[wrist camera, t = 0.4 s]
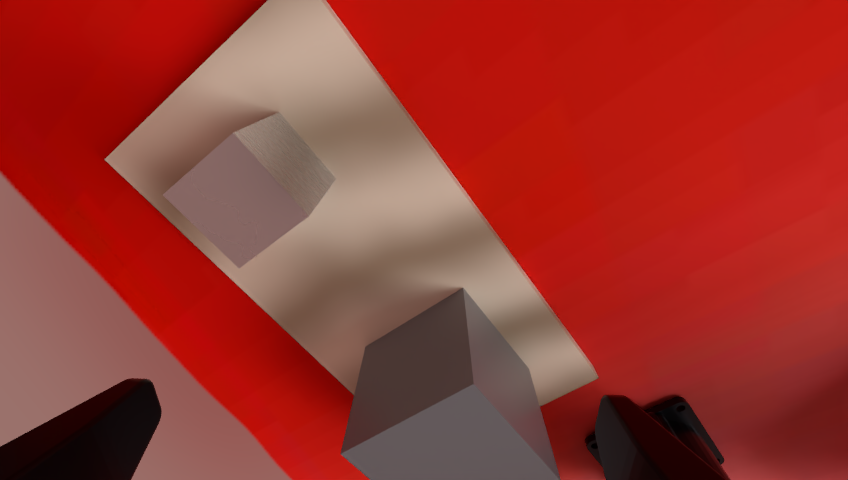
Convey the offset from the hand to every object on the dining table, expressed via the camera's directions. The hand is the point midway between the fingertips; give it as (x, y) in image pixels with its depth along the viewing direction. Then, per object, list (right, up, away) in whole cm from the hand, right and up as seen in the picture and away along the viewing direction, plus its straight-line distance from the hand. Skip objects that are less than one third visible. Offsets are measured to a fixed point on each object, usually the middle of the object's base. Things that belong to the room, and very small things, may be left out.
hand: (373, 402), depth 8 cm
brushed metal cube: (-5, +7, +11) cm, 14 cm away
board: (-1, +2, +14) cm, 14 cm away
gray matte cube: (+2, -3, +15) cm, 15 cm away
